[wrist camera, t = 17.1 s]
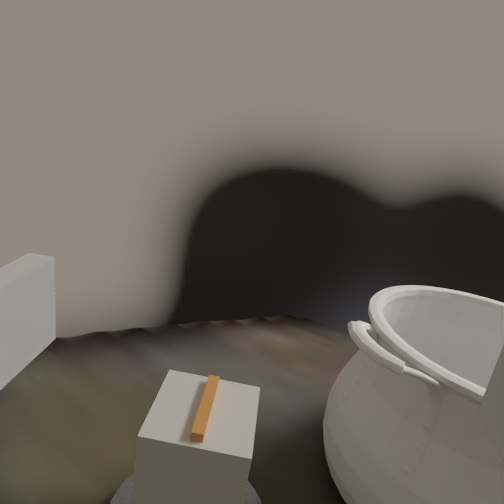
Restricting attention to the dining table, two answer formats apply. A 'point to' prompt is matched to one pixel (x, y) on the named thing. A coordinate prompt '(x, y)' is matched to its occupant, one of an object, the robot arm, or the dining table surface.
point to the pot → (417, 401)
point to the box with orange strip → (196, 442)
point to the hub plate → (124, 493)
